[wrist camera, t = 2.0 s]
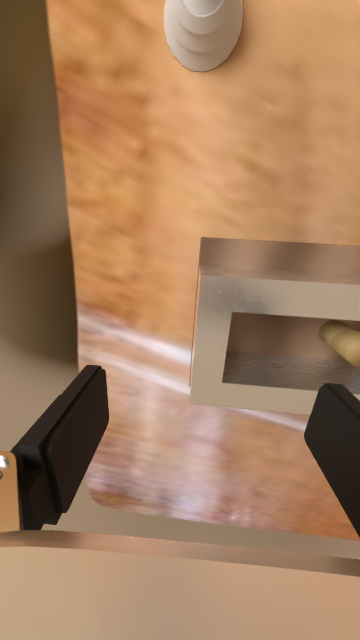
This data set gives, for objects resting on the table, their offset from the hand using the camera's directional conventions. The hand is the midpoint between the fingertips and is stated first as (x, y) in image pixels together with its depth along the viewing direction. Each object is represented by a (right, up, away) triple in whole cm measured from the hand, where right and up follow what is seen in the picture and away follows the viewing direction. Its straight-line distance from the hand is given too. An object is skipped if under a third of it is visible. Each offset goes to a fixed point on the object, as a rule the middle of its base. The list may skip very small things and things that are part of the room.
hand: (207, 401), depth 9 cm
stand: (+7, +4, +11) cm, 13 cm away
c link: (+6, +3, +8) cm, 10 cm away
